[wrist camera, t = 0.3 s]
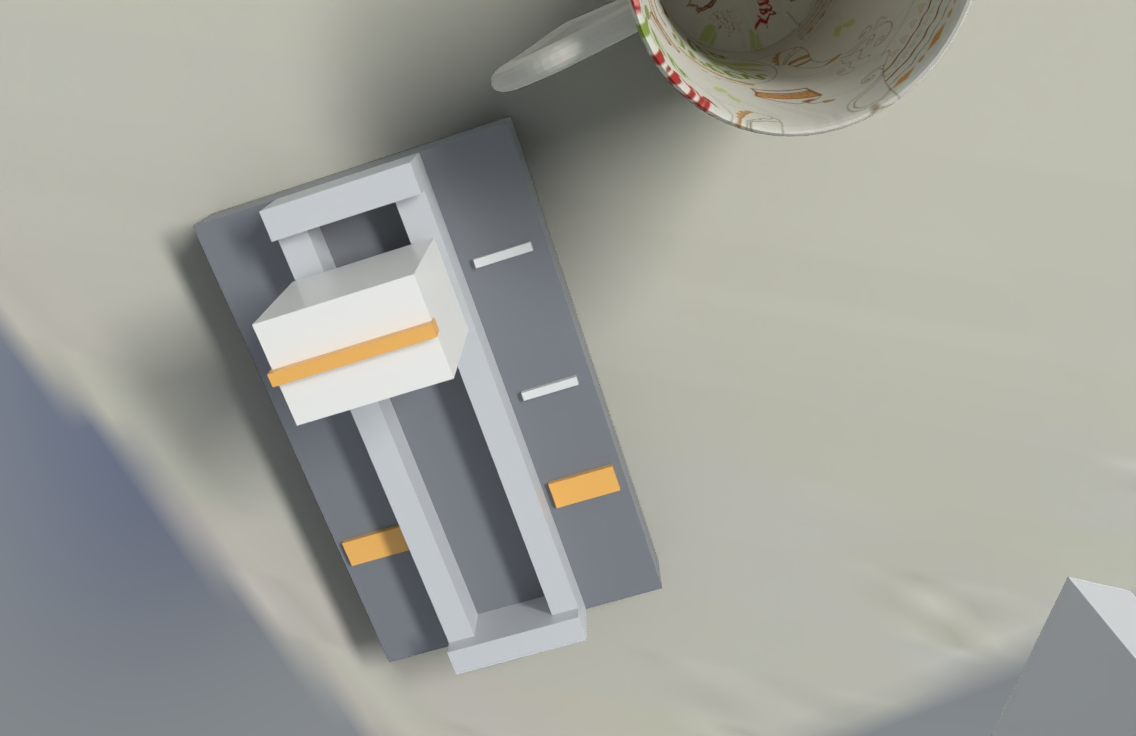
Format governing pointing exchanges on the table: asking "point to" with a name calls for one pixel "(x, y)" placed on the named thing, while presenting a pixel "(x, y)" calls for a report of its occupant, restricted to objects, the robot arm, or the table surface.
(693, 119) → the table surface
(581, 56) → the mug
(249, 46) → the table surface
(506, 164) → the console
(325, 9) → the table surface
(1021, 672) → the robot arm
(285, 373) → the fader tab
